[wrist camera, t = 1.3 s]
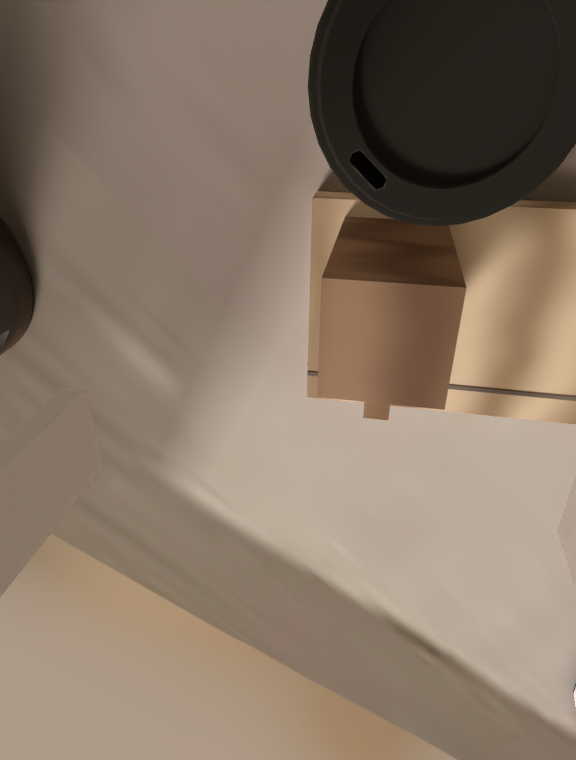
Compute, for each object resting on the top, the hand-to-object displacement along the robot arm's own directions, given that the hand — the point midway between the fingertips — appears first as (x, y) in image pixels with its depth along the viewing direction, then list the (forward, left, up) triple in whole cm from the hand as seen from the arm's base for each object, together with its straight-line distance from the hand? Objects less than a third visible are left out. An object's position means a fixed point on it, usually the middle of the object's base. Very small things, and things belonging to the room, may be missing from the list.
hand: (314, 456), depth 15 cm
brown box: (+2, -5, -22) cm, 22 cm away
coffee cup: (+3, +9, -24) cm, 25 cm away
